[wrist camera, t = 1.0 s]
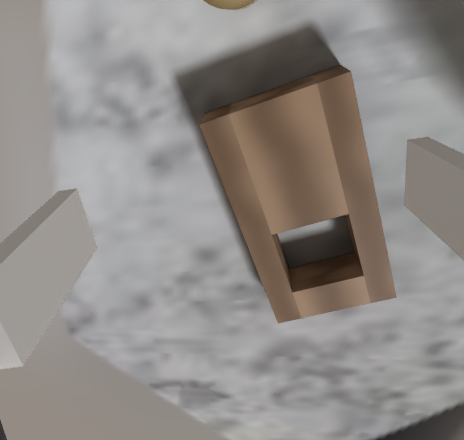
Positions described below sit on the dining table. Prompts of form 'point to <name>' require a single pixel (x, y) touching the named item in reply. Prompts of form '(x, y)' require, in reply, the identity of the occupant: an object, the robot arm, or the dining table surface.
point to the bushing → (230, 4)
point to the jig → (303, 190)
